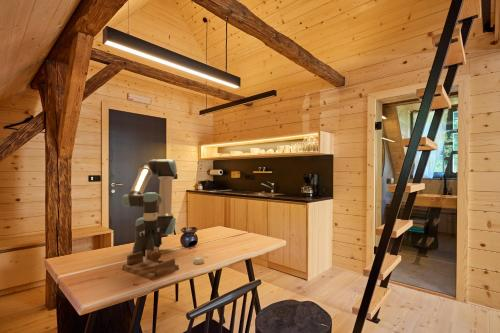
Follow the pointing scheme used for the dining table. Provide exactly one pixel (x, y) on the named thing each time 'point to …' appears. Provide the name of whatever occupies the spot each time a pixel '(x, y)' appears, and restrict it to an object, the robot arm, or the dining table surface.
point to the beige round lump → (198, 260)
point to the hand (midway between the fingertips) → (150, 259)
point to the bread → (152, 255)
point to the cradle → (149, 266)
